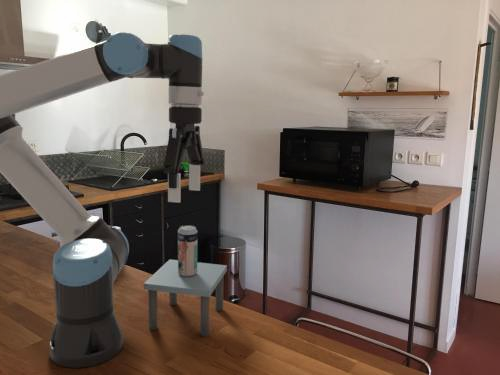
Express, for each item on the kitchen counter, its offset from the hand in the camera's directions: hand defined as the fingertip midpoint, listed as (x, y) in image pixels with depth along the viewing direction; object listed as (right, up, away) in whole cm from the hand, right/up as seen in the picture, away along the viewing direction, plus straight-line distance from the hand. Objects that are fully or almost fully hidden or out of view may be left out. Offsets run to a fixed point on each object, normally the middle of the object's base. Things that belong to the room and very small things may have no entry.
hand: (185, 195), depth 103 cm
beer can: (0, -20, +4) cm, 20 cm away
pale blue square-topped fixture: (0, -31, +6) cm, 32 cm away
